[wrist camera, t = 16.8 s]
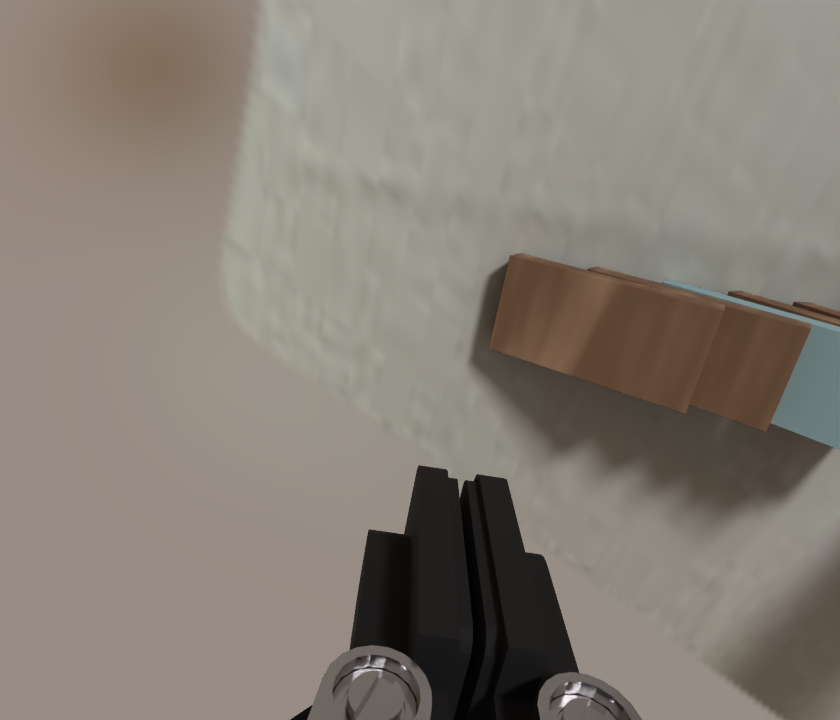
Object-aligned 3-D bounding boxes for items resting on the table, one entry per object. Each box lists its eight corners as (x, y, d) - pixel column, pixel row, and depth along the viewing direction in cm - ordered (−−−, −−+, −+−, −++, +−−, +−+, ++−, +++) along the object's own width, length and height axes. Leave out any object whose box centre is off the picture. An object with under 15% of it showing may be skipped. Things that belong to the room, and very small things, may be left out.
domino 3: (672, 280, 31) (897, 342, 25) (643, 365, 33) (848, 442, 27) (662, 281, 30) (896, 348, 24) (633, 370, 32) (844, 451, 26)
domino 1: (520, 253, 30) (725, 305, 26) (499, 342, 32) (688, 403, 28) (510, 255, 29) (723, 310, 25) (488, 348, 31) (685, 413, 27)
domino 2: (597, 266, 31) (811, 323, 26) (572, 353, 32) (768, 421, 28) (587, 268, 29) (811, 329, 25) (562, 359, 31) (766, 432, 26)
